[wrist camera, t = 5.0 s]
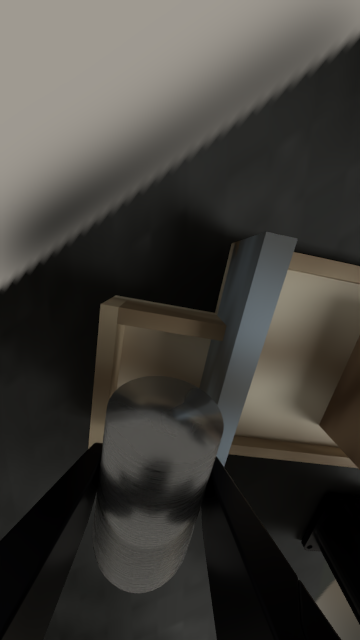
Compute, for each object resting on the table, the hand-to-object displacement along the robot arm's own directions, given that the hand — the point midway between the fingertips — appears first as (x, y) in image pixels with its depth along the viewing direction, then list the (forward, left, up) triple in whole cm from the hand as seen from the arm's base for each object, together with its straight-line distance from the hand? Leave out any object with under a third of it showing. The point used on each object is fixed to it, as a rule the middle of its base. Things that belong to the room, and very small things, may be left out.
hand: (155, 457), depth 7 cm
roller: (0, 0, 0) cm, 0 cm away
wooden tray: (+2, -8, -6) cm, 10 cm away
